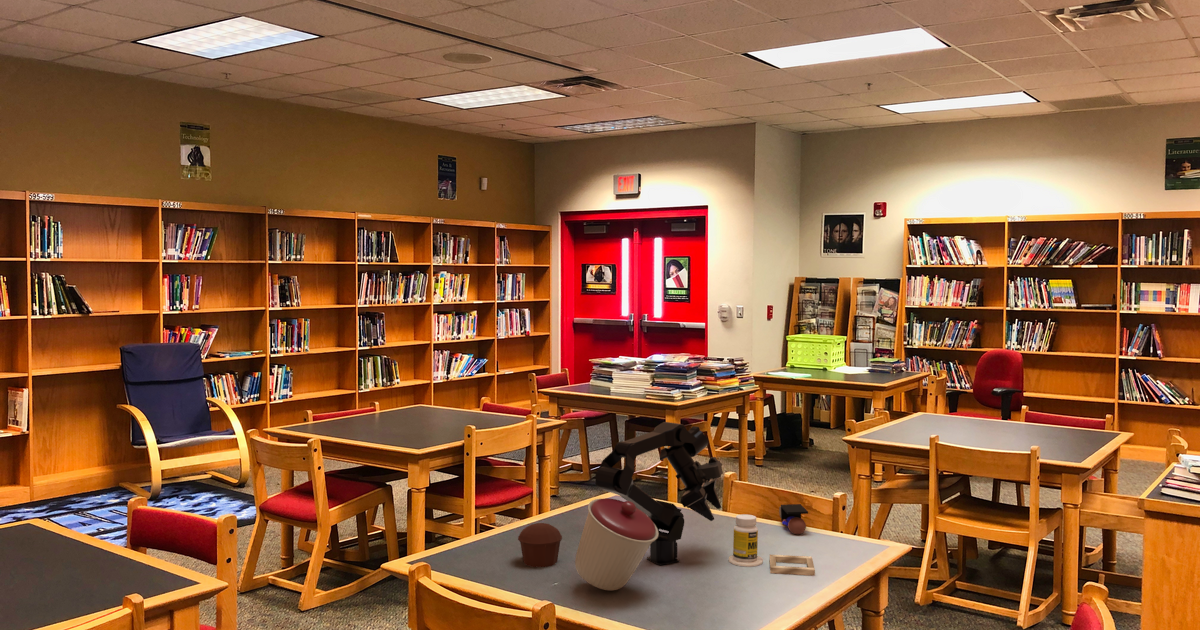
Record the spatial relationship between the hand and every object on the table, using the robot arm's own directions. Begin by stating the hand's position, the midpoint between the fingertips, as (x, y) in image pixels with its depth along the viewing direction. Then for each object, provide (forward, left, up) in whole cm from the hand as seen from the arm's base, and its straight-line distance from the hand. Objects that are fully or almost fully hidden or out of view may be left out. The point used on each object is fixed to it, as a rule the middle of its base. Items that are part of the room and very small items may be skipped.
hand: (716, 514), depth 243 cm
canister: (-39, -5, -10) cm, 41 cm away
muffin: (-43, +20, -12) cm, 49 cm away
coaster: (+5, -6, -12) cm, 14 cm away
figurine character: (+38, +12, -12) cm, 41 cm away
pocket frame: (+12, -16, -12) cm, 24 cm away
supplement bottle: (+5, -6, -11) cm, 14 cm away
